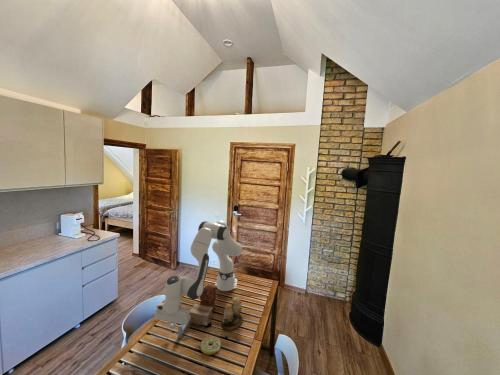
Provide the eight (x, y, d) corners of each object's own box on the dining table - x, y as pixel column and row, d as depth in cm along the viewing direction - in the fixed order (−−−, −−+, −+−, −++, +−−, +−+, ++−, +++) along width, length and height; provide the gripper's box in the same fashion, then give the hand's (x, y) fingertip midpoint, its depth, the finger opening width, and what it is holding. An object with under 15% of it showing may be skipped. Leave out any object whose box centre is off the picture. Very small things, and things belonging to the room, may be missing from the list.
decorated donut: (222, 353, 120) (223, 346, 119) (202, 359, 115) (203, 352, 115) (217, 339, 129) (217, 333, 129) (198, 344, 125) (199, 338, 124)
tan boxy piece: (194, 313, 150) (194, 303, 150) (212, 317, 148) (213, 307, 147) (184, 327, 137) (185, 316, 136) (204, 331, 134) (204, 320, 134)
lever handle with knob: (187, 323, 140) (187, 313, 139) (191, 324, 139) (191, 314, 139) (176, 338, 127) (177, 327, 127) (181, 339, 127) (181, 328, 126)
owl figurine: (232, 311, 154) (234, 288, 153) (247, 318, 148) (248, 294, 147) (216, 327, 139) (217, 301, 137) (232, 335, 133) (233, 308, 131)
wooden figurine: (205, 316, 147) (206, 291, 146) (198, 313, 151) (199, 287, 149) (217, 308, 157) (218, 283, 156) (210, 304, 161) (211, 280, 159)
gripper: (191, 305, 129) (191, 327, 130) (160, 299, 133) (159, 321, 134) (186, 311, 123) (186, 335, 124) (153, 305, 127) (153, 328, 128)
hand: (172, 327), depth 129 cm, fingers closed
